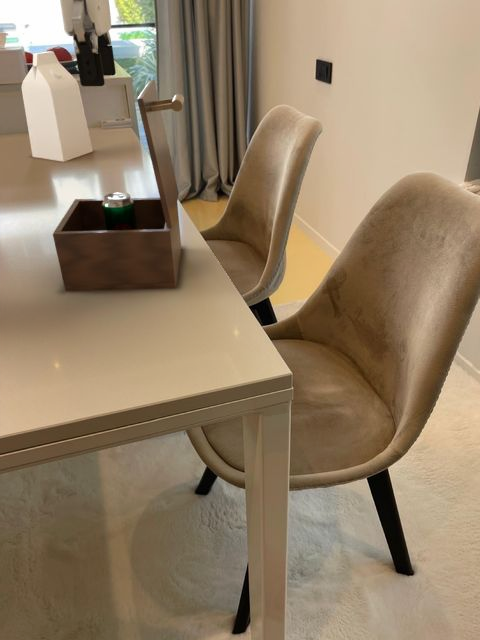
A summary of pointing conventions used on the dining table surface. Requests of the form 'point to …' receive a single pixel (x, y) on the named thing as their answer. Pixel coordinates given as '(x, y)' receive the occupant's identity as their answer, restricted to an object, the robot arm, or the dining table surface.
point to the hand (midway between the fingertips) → (99, 80)
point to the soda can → (119, 211)
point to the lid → (160, 145)
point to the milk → (54, 111)
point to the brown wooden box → (117, 248)
